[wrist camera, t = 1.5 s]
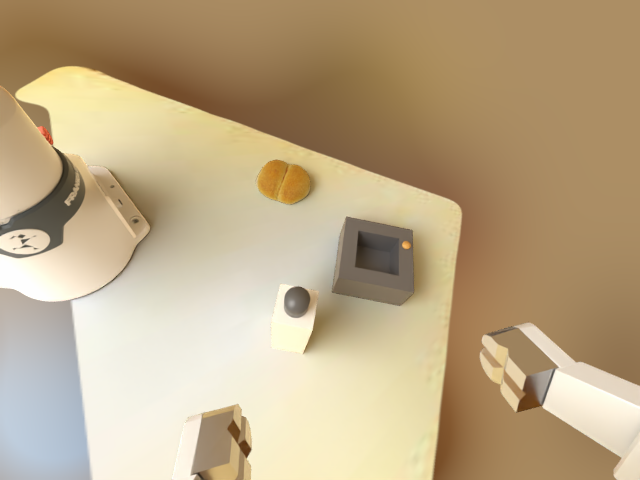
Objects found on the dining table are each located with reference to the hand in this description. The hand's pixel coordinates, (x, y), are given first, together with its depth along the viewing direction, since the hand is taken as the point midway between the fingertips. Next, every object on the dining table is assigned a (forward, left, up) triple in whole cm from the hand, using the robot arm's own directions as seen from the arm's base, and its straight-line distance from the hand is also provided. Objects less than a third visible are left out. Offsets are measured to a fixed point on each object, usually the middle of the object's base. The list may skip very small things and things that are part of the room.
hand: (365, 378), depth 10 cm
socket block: (-11, +18, -29) cm, 36 cm away
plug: (-8, +3, -29) cm, 30 cm away
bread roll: (-31, +14, -29) cm, 45 cm away
